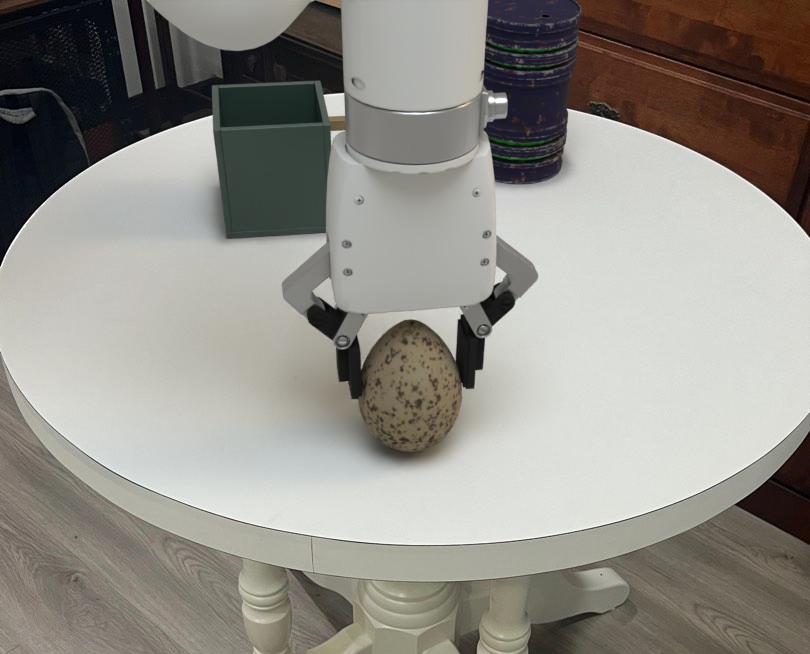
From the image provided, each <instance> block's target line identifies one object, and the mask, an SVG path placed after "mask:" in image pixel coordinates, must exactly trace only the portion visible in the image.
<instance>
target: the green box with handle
mask: <svg viewBox="0 0 810 654" xmlns="http://www.w3.org/2000/svg"><path fill="white" fill-rule="evenodd" d="M211 105H212V133H213V141H214V149H215V150H214V151H215V156H216V166H217V174H218V181H219V188H220V189H219V190H220V198H221V205H222V212H223V221H224V229H225V237H226V239H239V238H240V239H241V238H257V237H274V236H285V235H286V236H291V235H304V234H321V233H322V234H323V233H326V196H327V177H328V168H329V159H330V152H331V147H332V132H344V131H346V130H345V115H333V116H331V115H329V112H328V108H327V103H326V100H325V95H324V91H323V87H322V82H321V80H301V81H280V82H257V83H234V84H232V83H231V84H212V85H211Z"/></svg>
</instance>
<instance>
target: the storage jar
mask: <svg viewBox="0 0 810 654" xmlns="http://www.w3.org/2000/svg"><path fill="white" fill-rule="evenodd" d="M581 14H582V6H581V5H580V4H579V3H578V1H576V0H488V10H487V25H486V41H485V59H484V77H483V85H484V86H485V88H486V90H487V91H493V93H506V96H507V102H508V109H507V116H506V118H501V119H494V120H493V122H487V125H486V128H484V131H485V132H486V133H487V135H488V139H489V143H490V148H491V154H492V162H493V171H494V181H495V182H496V183H497V182H499V183H502V184H510V185H511V184H512V185H526V184H527V185H529V184H536V183H542V182H544V181H547V180H550V179H552V178H554V177H555V176H557V175H558V174H559V173H560V171H561V169H562V167H563V157H562V155H563V154H564V151H565V145H566V142H567V135H568V128H567V127H568V123H569V111H568V99H569V92H570V83H571V76H572V75H573V74H574V71H575V67H576V65H577V63H576V55H577V53H578V48H579V32H580V31H579V30H580V24H579V22H580V20H581Z"/></svg>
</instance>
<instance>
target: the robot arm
mask: <svg viewBox="0 0 810 654" xmlns="http://www.w3.org/2000/svg"><path fill="white" fill-rule="evenodd" d="M146 2H147V3H148V4H149V5H150V6H152V8H153V9H154V10H155V11H156V12H158V14H160V16H162V17H163V18H164V19H166V20H167V21H168V22H169V23H171V24H172V25H173V26H174V27H176V28H177V29H178V30H179V31H181V32H182V33H184V34H185V35H186V36H188V37H190V38H192V39H194V40H195V41H198V42H200V43H201V44H203V45H206V46H209V47H212V48H214V49H218V50H223V51H233V52H240V51H241V52H242V51H247V50H254V49H256V48H257V49H258V48H259V47H262V46H264V45H266V44H268V43H270V42H272V41H273V40H275V39H276V38H278V37H279V36H280V35H281V34H282V33H284V32H285V31H286V30H287V29H288V28H289V27H290V26H291V25H292V23H294V21H295V20H296V19H297V18H298V17H299V16H300V14H301V13H303V11H304V10H305V9H306V8H307V6H308V5H309V4H311V3H312V2H315V0H146ZM487 10H488V0H340V14H341V15H340V16H341V41H342V43H341V45H342V46H341V47H342V69H343V70H342V72H343V98H344V101H343V103H344V116H345V130H343V131H339V133H337V134H335V136H334V137H333V139H332V141H331V152H330V159H329V168H328V177H327V196H326V232H325V240H326V241H325V243H324V244H323V245H322V246H321V247H320V248H319V249H318V250H317V251H316V252H314V253H313V254H312V255H311V256H310V257H309V258H308V259H306V260H305V261H304V262H303V263H302V264H301V265H300V266H298V267H297V268H296V269H295V270H294V271H293V272H291V273H290V274H289V275H288V276H287V277H286V278H284V280H283V281H282V282H281V292H282V298H283V300H284V301H285V302H286V303H287V304H288V305H289V306H291V307H292V308H293V309H294V310H295V311H296V312H298V313H299V314H300V315H301V316H303V317H304V318H306V320H307V321H308V324H309V325H310V326H311V327H313V328H315V329H316V330H317V331H319V333H321V334H323V336H325V337H327V338H328V339H329V340H331V341H332V342H333V346H334V347H335V356H336V358H335V359H336V373H337V379H338V382H339V383H343V382H347V384H348V389H349V394H350V399H351V400H358V399H359V397H361V396H362V381H361V369H362V353H361V346H360V342H359V341H360V340H359V337H358V334H359V332H360V330H361V329H362V326H363V324H364V323H365V321H366V319H367V318H368V315H371V314H372V315H373V314H385V313H386V314H387V313H388V314H389V313H399V312H400V313H402V312H415V311H425V310H437V309H438V310H439V309H450V308H459V309H460V311H461V314H460V316H459V318H458V319H457V327H456V347H455V361H456V364H457V367H458V369H459V373H460V377H461V384H462V389H463V388H465V390H474V389H475V384H476V383H475V382H476V372H477V371H482V370H483V369H484V361H485V360H484V359H485V349H486V348H485V347H486V346H485V345H486V338H488V337H489V336H490V335H492V332H493V326H495V325H496V324H497V323H498V322H499V321H500V320H501V319H503V317H505V316H506V315H507V314H508V313H509V312H510V311H512V310H513V309H514V307H515V305H516V301H517V300H518V299H521V298H522V297H523V296H524V295H525V294H526V292H527V291H529V290H530V289H531V288H532V286H533V285H534V284H535V283H536V282H537V281H538V279H539V273H538V271H537V268H536V266H535V265H534V263H533V262H532V261H531V260H530V259H528V258H527V257H526V256H525V255H524V254H522V253H521V252H519V251H518V250H517V249H515V248H514V247H513V246H511V245H510V244H509V243H508V242H507V241H505V240H504V239H503V238H501V237H500V236H498V234H497V205H496V204H497V203H496V184H495V183H496V181H494V171H493V162H492V154H491V148H490V143H489V139H488V135H487V133H486V132H485V131H484V128H486V125H487V122H493V120H494V119H501V118H506V116H507V109H508V102H507V96H506V93H493V91H487V90H486V88H485V86H484V85H483V77H484V59H485V41H486V25H487ZM497 268H498V269H500V270H501V271H503V272H504V273H505V274H506V275H505V276H504V277H503V278H502V281H500V282H497V283H495V280H496V272H497ZM328 278H329V280H330V282H331V290H332V293H333V298H334V303H335V304H334V307H333V306H332V305H331V304H330V303H329V302H327V301H326V300H324V299H323V298H322V297H320V296H317V295H316V294H315V293H314V292H313V291H314V290H315V289H317V288H318V287H319V286H320V285H321V284H323V283H324V282H325V281H326V280H327V279H328Z"/></svg>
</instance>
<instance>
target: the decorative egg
mask: <svg viewBox="0 0 810 654" xmlns="http://www.w3.org/2000/svg"><path fill="white" fill-rule="evenodd" d="M361 381H362V396H361V397H359V399H357V402H358V409H359V413H360V415H361V418H362V421H363V423H364V424H365V426H366V427H367V430H368V431H369V432H370V433H371V434H372V436H373V437H375V438H376V440H378V441H379V442H380V443H381V444H383V445H384V446H386V447H389V448H390V449H393V450H396V451H398V452H402V453H403V452H405V453H415V452H421V451H424V450H427V449H430V448H432V447H433V446H435V445H437V444H438V443H440V442H441V441H442V440H444V438H446V437H447V436H448V434H449V433H450V432H451V430H452V429H453V428H454V426H455V424H456V421H457V420H458V417H459V415H460V411H461V407H462V402H463V386H462V383H461V377H460V373H459V369H458V367H457V364H456V358H455V357H454V355H453V353H452V351H451V350H450V348H449V347H448V345H447V344H446V342H445V341H444V340H443V338H442V337H441V336H440V335H439V334H438V333H437V332H436V331H435V330H434V329H432V328H431V327H430V326H428V324H426V323H424V322H422V321H420V320H419V319H418V320H417V319H412V318H411V319H404V320H402V321H400V322H397V323H396V324H394V325H392V326H391V327H390V328H388V329H387V330H386V331H385V332H384V333H382V335H381V336H380V337H379V338H378V340H377V341H376V342H375V343H374V344H373V346H372V347H371V348H370V350H369V352H368V353H367V356H366V357H365V359H364V362H363V364H362V365H361Z"/></svg>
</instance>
